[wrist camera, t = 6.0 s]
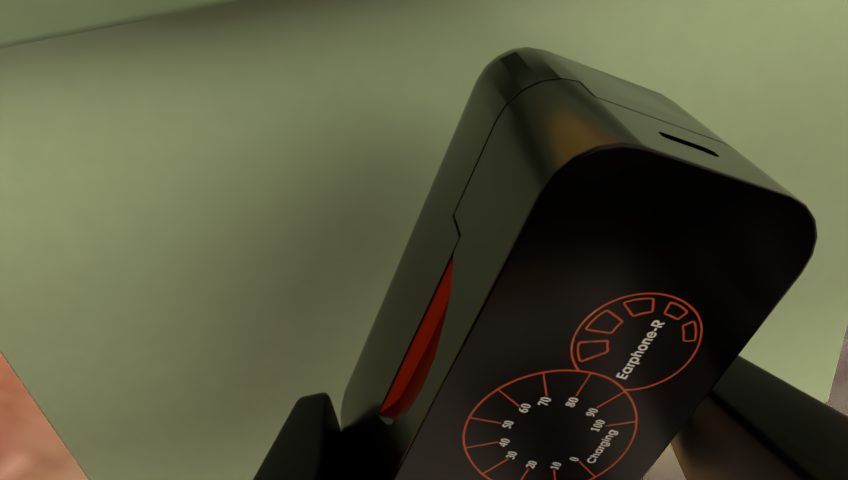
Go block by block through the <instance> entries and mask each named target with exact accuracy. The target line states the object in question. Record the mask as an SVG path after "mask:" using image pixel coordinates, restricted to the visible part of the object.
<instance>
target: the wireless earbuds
mask: <svg viewBox="0 0 848 480" xmlns="http://www.w3.org/2000/svg"><path fill="white" fill-rule="evenodd" d="M817 237H818V236H817V227H816V220H815V218H814V216H813V215H812V213H811V211H810V210H809V208H808V207H807V205H806V204H804V203H803V202H802V201H801V200H799V199H798V198H797V197H795V196H794V195H793V194H792V193H790V192H789V191H788V190H786V189H785V188H784V187H783V186H781V185H780V184H779V183H778V182H776V181H775V180H774V179H772V178H771V177H770V176H769V175H767V174H766V173H765V172H763V171H762V170H761V169H760V168H758V167H757V166H756V165H754V164H753V163H752V162H751V161H749V160H748V159H747V158H745V157H744V156H743V155H742V154H740V153H739V152H738V151H736V150H735V149H734V148H733V147H731V146H730V145H729V144H728V143H726V142H725V141H724V140H722V139H721V138H720V137H719V136H717V135H716V134H715V133H713V132H712V131H711V130H710V129H708V128H707V127H706V126H704V125H703V124H702V123H701V122H699V121H698V120H697V119H696V118H694V117H693V116H692V115H690V114H689V113H688V112H687V111H685V110H684V109H683V108H681V107H680V106H679V105H678V104H676V103H675V102H674V101H672V100H671V99H669V98H667V97H666V96H664V95H663V94H661V93H658V92H656V91H653V90H650V89H648V88H645V87H642V86H640V85H637V84H634V83H632V82H629V81H626V80H624V79H621V78H618V77H616V76H613V75H610V74H608V73H605V72H602V71H600V70H597V69H594V68H592V67H589V66H586V65H583V64H581V63H578V62H575V61H573V60H570V59H567V58H565V57H562V56H559V55H557V54H554V53H551V52H549V51H546V50H543V49H537V48H531V47H523V48H517V49H511V50H509V51H507V52H505V53H503V54H500V55H498V56H497V57H496V58H495V59H493V60H492V61H491V62H490V63H489V64H488V65H486V66H485V68H484V69H483V71H482V73H481V74H480V76H479V77H478V79H477V81H476V82H475V85H474V87H473V89H472V92H471V94H470V96H469V99H468V101H467V103H466V106H465V108H464V111H463V113H462V115H461V118H460V120H459V122H458V125H457V127H456V129H455V132H454V134H453V137H452V139H451V141H450V144H449V146H448V148H447V151H446V153H445V155H444V158H443V160H442V163H441V165H440V167H439V170H438V172H437V174H436V177H435V179H434V181H433V184H432V186H431V188H430V191H429V193H428V196H427V198H426V200H425V203H424V205H423V207H422V210H421V212H420V214H419V217H418V219H417V222H416V224H415V226H414V229H413V231H412V233H411V236H410V238H409V240H408V243H407V245H406V248H405V250H404V252H403V255H402V257H401V259H400V262H399V264H398V266H397V269H396V271H395V274H394V276H393V278H392V281H391V283H390V285H389V288H388V290H387V292H386V295H385V297H384V300H383V302H382V304H381V307H380V309H379V311H378V314H377V316H376V318H375V321H374V323H373V325H372V328H371V330H370V333H369V335H368V337H367V340H366V342H365V344H364V347H363V349H362V351H361V354H360V356H359V359H358V361H357V363H356V366H355V368H354V370H353V373H352V375H351V377H350V380H349V382H348V385H347V387H346V389H345V392H344V396H343V401H342V406H341V411H340V415H341V431H342V466H343V480H641V479H642V478H643V477H644V476H645V474H646V473H647V472H648V470H649V469H650V468H651V467H652V465H653V464H654V463H655V461H656V460H657V459H658V458H659V456H660V455H661V454H662V452H663V451H664V450H665V449H666V447H667V446H668V445H669V443H670V442H671V441H672V440H673V438H674V437H675V436H676V434H677V433H678V432H679V431H680V429H681V428H682V427H683V425H684V424H685V423H686V422H687V420H688V419H689V418H690V416H691V415H692V414H693V413H694V411H695V410H696V409H697V407H698V406H699V405H700V404H701V402H702V401H703V400H704V399H705V397H706V396H707V395H708V393H709V392H710V391H711V390H712V388H713V387H714V386H715V384H716V383H717V382H718V381H719V379H720V378H721V377H722V375H723V374H724V373H725V372H726V370H727V369H728V368H729V366H730V365H731V364H732V363H733V361H734V360H735V359H736V357H737V356H738V355H739V354H740V352H741V351H742V350H743V348H744V347H745V346H746V345H747V343H748V342H749V341H750V339H751V338H752V337H753V336H754V334H755V333H756V332H757V330H758V329H759V328H760V327H761V325H762V324H763V323H764V321H765V320H766V319H767V318H768V316H769V315H770V314H771V312H772V311H773V310H774V309H775V307H776V306H777V305H778V303H779V302H780V301H781V300H782V298H783V297H784V296H785V294H786V293H787V292H788V291H789V289H790V288H791V287H792V285H793V284H794V283H795V282H796V280H797V279H798V278H799V276H800V275H801V274H802V273H803V271H804V269H805V268H806V266H807V264H808V262H809V261H810V259H811V257H812V256H813V253H814V249H815V245H816V241H817Z"/></svg>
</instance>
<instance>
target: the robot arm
mask: <svg viewBox="0 0 848 480" xmlns="http://www.w3.org/2000/svg"><path fill="white" fill-rule="evenodd" d="M670 443H671V445H672V448H673V450H674V452H675V455H676V457H677V459H678V462H679V464H680V466H681V468H682V471H683V473H684V475H685V477H686V479H687V480H848V416H846V415H844V414H842V413H840V412H839V411H837V410H835V409H833V408H832V407H830V406H828V405H826V404H824V403H823V402H821V401H819V400H817V399H816V398H814V397H812V396H810V395H808V394H807V393H805V392H803V391H801V390H800V389H798V388H796V387H794V386H792V385H791V384H789V383H787V382H785V381H784V380H782V379H780V378H778V377H776V376H775V375H773V374H771V373H769V372H768V371H766V370H764V369H762V368H761V367H759V366H757V365H755V364H753V363H752V362H750V361H748V360H746V359H745V358H743V357H741V356H739V355H738V356H737V357H736V359H735V360H734V361H733V363H732V364H731V365H730V366H729V368H728V369H727V370H726V372H725V373H724V374H723V375H722V377H721V378H720V379H719V381H718V382H717V383H716V384H715V386H714V387H713V388H712V390H711V391H710V392H709V393H708V395H707V396H706V397H705V399H704V400H703V401H702V402H701V404H700V405H699V406H698V407H697V409H696V410H695V411H694V413H693V414H692V415H691V416H690V418H689V419H688V420H687V422H686V423H685V424H684V425H683V427H682V428H681V429H680V431H679V432H678V433H677V434H676V436H675V437H674V438H673V440H672V441H671V442H670ZM253 480H343V466H342V431H341V428H340V425H339V422H338V419H337V416H336V413H335V410H334V407H333V404H332V401H331V398H330V396H329V395H328V394H327V393H325V392H321V393H316V394H312V395H307V396H303V397H301V398H299V399H298V400H297V402H296V403H295V405H294V407H293V409H292V410H291V412H290V414H289V416H288V417H287V419H286V421H285V423H284V425H283V426H282V428H281V430H280V432H279V434H278V435H277V437H276V439H275V441H274V442H273V444H272V446H271V448H270V450H269V451H268V453H267V455H266V457H265V459H264V460H263V462H262V464H261V466H260V467H259V469H258V471H257V473H256V475H255V476H254V478H253Z"/></svg>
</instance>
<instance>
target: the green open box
mask: <svg viewBox="0 0 848 480" xmlns="http://www.w3.org/2000/svg"><path fill="white" fill-rule="evenodd" d="M523 47H531V48H537V49H543V50H546V51H549V52H551V53H554V54H557V55H559V56H562V57H565V58H567V59H570V60H573V61H575V62H578V63H581V64H583V65H586V66H589V67H592V68H594V69H597V70H600V71H602V72H605V73H608V74H610V75H613V76H616V77H618V78H621V79H624V80H626V81H629V82H632V83H634V84H637V85H640V86H642V87H645V88H648V89H650V90H653V91H656V92H658V93H661V94H663V95H664V96H666V97H667V98H669V99H671V100H672V101H674V102H675V103H676V104H678V105H679V106H680V107H681V108H683V109H684V110H685V111H687V112H688V113H689V114H690V115H692V116H693V117H694V118H696V119H697V120H698V121H699V122H701V123H702V124H703V125H704V126H706V127H707V128H708V129H710V130H711V131H712V132H713V133H715V134H716V135H717V136H719V137H720V138H721V139H722V140H724V141H725V142H726V143H728V144H729V145H730V146H731V147H733V148H734V149H735V150H736V151H738V152H739V153H740V154H742V155H743V156H744V157H745V158H747V159H748V160H749V161H751V162H752V163H753V164H754V165H756V166H757V167H758V168H760V169H761V170H762V171H763V172H765V173H766V174H767V175H769V176H770V177H771V178H772V179H774V180H775V181H776V182H778V183H779V184H780V185H781V186H783V187H784V188H785V189H786V190H788V191H789V192H790V193H792V194H793V195H794V196H795V197H797V198H798V199H799V200H801V201H802V202H803V203H804V204H806V205H807V207H808V208H809V210H810V211H811V213H812V215H813V216H814V218H815V220H816V227H817V236H818V237H817V241H816V245H815V249H814V253H813V256H812V257H811V259H810V261H809V262H808V264H807V266H806V268H805V269H804V271H803V273H802V274H801V275H800V276H799V278H798V279H797V280H796V282H795V283H794V284H793V285H792V287H791V288H790V289H789V291H788V292H787V293H786V294H785V296H784V297H783V298H782V300H781V301H780V302H779V303H778V305H777V306H776V307H775V309H774V310H773V311H772V312H771V314H770V315H769V316H768V318H767V319H766V320H765V321H764V323H763V324H762V325H761V327H760V328H759V329H758V330H757V332H756V333H755V334H754V336H753V337H752V338H751V339H750V341H749V342H748V343H747V345H746V346H745V347H744V348H743V350H742V351H741V352H740V354H739V356H741V357H743V358H745V359H746V360H748V361H750V362H752V363H753V364H755V365H757V366H759V367H761V368H762V369H764V370H766V371H768V372H769V373H771V374H773V375H775V376H776V377H778V378H780V379H782V380H784V381H785V382H787V383H789V384H791V385H792V386H794V387H796V388H798V389H800V390H801V391H803V392H805V393H807V394H808V395H810V396H812V397H814V398H816V399H817V400H819V401H821V402H823V403H826V402H827V401H828V399H829V395H830V391H831V387H832V383H833V379H834V375H835V371H836V368H837V364H838V360H839V356H840V352H841V348H842V344H843V340H844V336H845V332H846V328H847V324H848V0H0V352H1V353H2V355H3V356H4V357H5V359H6V360H7V362H8V363H9V365H10V366H11V368H12V369H13V370H14V372H15V373H16V375H17V376H18V378H19V379H20V381H21V382H22V383H23V385H24V386H25V388H26V389H27V391H28V392H29V394H30V395H31V397H32V398H33V399H34V401H35V402H36V404H37V405H38V407H39V408H40V410H41V411H42V412H43V414H44V415H45V417H46V418H47V420H48V421H49V423H50V424H51V425H52V427H53V428H54V430H55V431H56V433H57V434H58V436H59V437H60V438H61V440H62V441H63V443H64V444H65V446H66V447H67V449H68V450H69V451H70V453H71V454H72V456H73V457H74V459H75V460H76V462H77V463H78V464H79V466H80V467H81V469H82V470H83V472H84V473H85V475H86V476H87V478H88V479H89V480H253V478H254V476H255V475H256V473H257V471H258V469H259V467H260V466H261V464H262V462H263V460H264V459H265V457H266V455H267V453H268V451H269V450H270V448H271V446H272V444H273V442H274V441H275V439H276V437H277V435H278V434H279V432H280V430H281V428H282V426H283V425H284V423H285V421H286V419H287V417H288V416H289V414H290V412H291V410H292V409H293V407H294V405H295V403H296V402H297V400H298V399H299V398H301V397H303V396H307V395H312V394H316V393H321V392H325V393H327V394H328V395H329V396H330V398H331V401H332V404H333V407H334V410H335V413H336V416H337V419H338V422H339V425H340V428H341V415H340V411H341V406H342V401H343V396H344V392H345V389H346V387H347V385H348V382H349V380H350V377H351V375H352V373H353V370H354V368H355V366H356V363H357V361H358V359H359V356H360V354H361V351H362V349H363V347H364V344H365V342H366V340H367V337H368V335H369V333H370V330H371V328H372V325H373V323H374V321H375V318H376V316H377V314H378V311H379V309H380V307H381V304H382V302H383V300H384V297H385V295H386V292H387V290H388V288H389V285H390V283H391V281H392V278H393V276H394V274H395V271H396V269H397V266H398V264H399V262H400V259H401V257H402V255H403V252H404V250H405V248H406V245H407V243H408V240H409V238H410V236H411V233H412V231H413V229H414V226H415V224H416V222H417V219H418V217H419V214H420V212H421V210H422V207H423V205H424V203H425V200H426V198H427V196H428V193H429V191H430V188H431V186H432V184H433V181H434V179H435V177H436V174H437V172H438V170H439V167H440V165H441V163H442V160H443V158H444V155H445V153H446V151H447V148H448V146H449V144H450V141H451V139H452V137H453V134H454V132H455V129H456V127H457V125H458V122H459V120H460V118H461V115H462V113H463V111H464V108H465V106H466V103H467V101H468V99H469V96H470V94H471V92H472V89H473V87H474V85H475V82H476V81H477V79H478V77H479V76H480V74H481V73H482V71H483V69H484V68H485V66H486V65H488V64H489V63H490V62H491V61H492V60H493V59H495V58H496V57H497V56H498V55H500V54H503V53H505V52H507V51H509V50H511V49H517V48H523Z"/></svg>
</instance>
